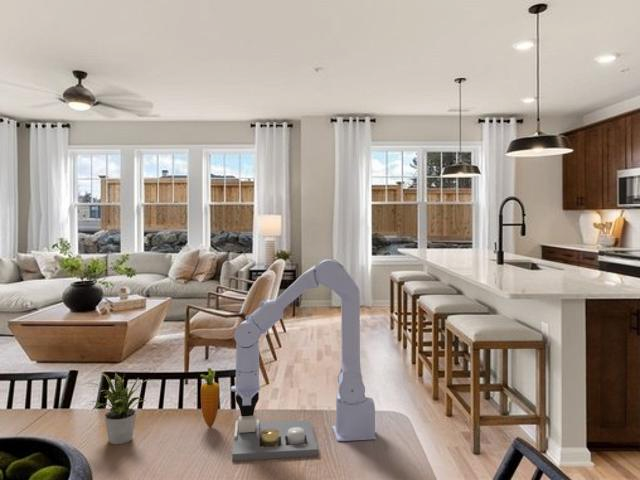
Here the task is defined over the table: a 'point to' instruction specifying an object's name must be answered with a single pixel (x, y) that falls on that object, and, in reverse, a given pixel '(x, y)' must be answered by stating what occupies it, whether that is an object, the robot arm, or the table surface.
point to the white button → (296, 436)
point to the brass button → (270, 437)
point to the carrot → (209, 398)
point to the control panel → (250, 449)
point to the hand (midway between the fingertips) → (247, 423)
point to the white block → (246, 424)
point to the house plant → (119, 411)
